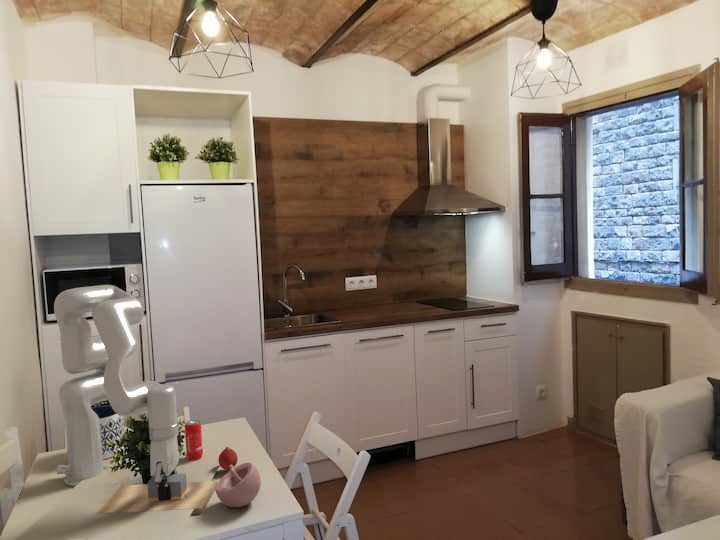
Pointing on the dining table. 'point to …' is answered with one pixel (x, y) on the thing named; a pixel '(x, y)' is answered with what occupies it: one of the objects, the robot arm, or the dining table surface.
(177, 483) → the block
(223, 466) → the pomegranate
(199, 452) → the beverage can
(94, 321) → the robot arm
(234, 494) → the mortar and pestle
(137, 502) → the oak board
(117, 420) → the planter
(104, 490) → the dining table surface
